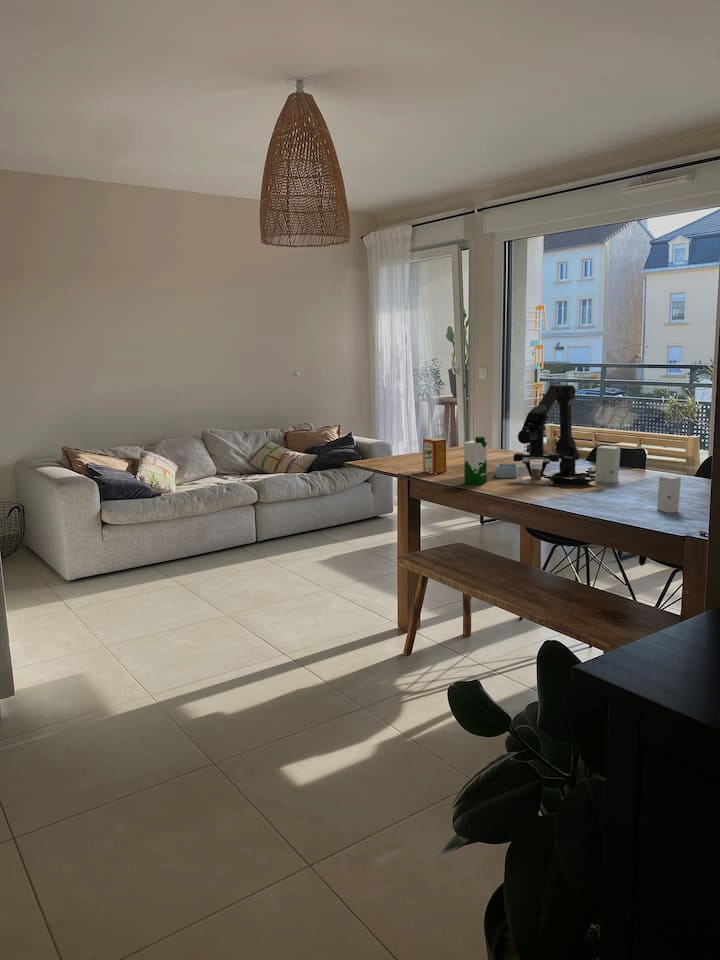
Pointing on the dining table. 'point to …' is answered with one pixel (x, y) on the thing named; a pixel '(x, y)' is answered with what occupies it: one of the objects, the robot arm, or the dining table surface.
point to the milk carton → (475, 461)
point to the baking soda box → (434, 455)
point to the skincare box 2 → (668, 494)
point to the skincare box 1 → (607, 464)
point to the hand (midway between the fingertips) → (536, 477)
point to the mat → (525, 483)
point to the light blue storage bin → (507, 471)
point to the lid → (535, 478)
